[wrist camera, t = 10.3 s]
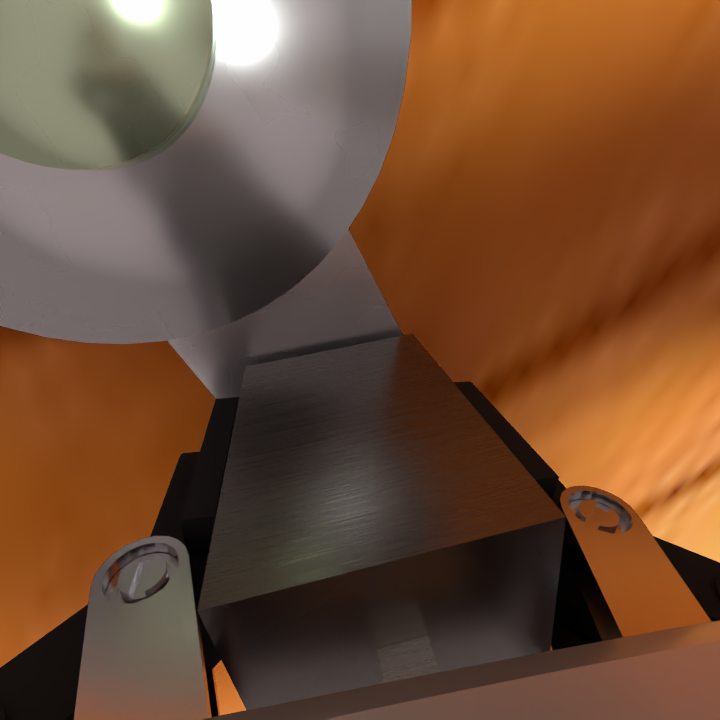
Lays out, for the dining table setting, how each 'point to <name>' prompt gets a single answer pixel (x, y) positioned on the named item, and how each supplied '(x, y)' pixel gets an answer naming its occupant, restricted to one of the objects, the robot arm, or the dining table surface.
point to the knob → (372, 530)
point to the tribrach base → (196, 173)
